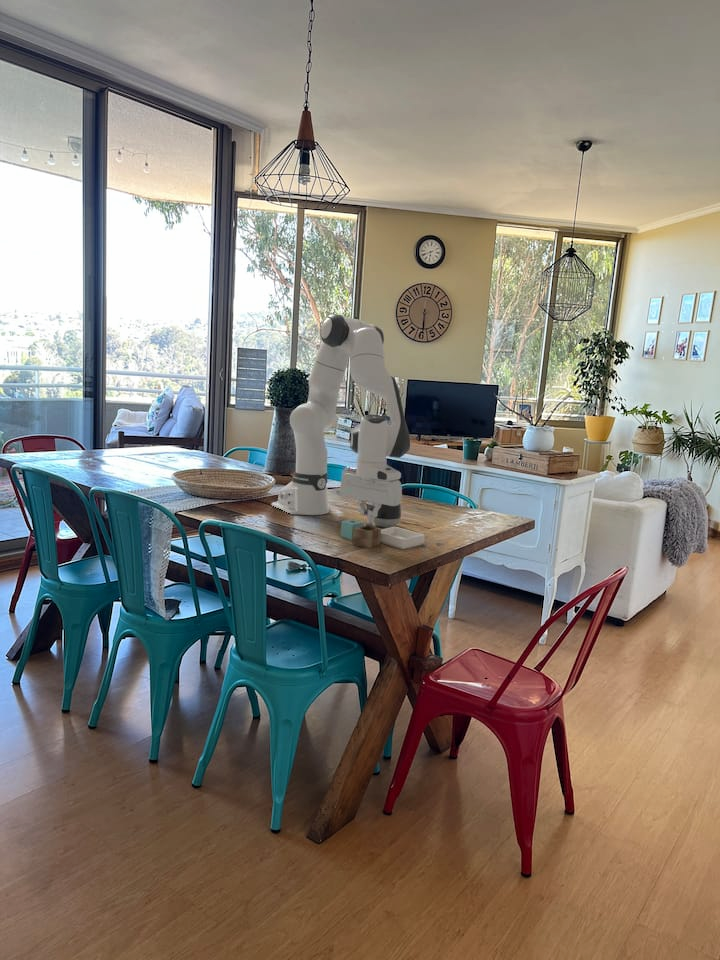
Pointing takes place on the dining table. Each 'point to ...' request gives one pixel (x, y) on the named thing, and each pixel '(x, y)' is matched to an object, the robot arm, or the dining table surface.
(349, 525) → the teal block
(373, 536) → the walnut block
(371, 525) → the pin gauge
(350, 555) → the dining table surface
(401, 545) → the tray
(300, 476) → the robot arm
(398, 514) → the dark grey egg shape
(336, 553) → the dining table surface
